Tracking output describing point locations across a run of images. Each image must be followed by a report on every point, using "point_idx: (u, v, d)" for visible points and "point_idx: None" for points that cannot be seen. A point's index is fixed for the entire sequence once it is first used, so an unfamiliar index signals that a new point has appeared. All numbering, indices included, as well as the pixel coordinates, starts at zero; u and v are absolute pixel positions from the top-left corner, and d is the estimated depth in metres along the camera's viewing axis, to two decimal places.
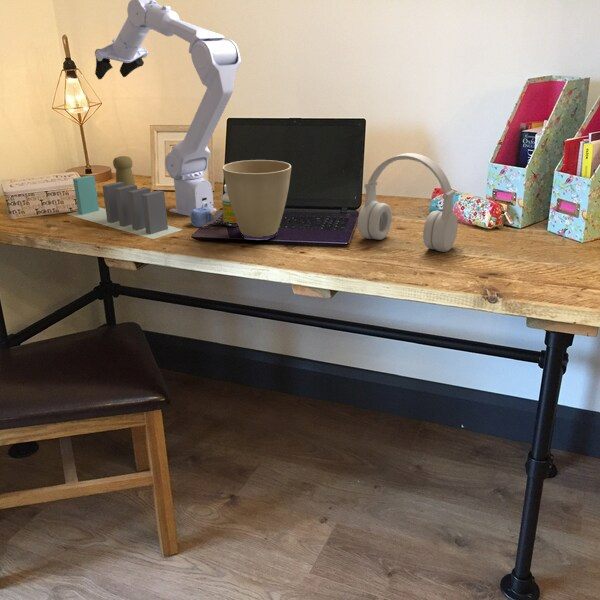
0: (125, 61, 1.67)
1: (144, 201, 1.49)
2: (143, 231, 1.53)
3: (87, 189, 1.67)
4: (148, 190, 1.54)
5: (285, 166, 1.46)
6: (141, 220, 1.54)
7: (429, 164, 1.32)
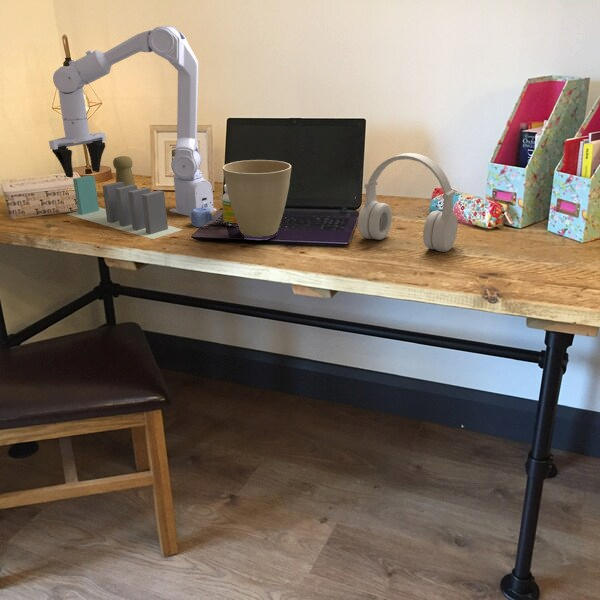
0: (81, 139, 1.60)
1: (144, 201, 1.49)
2: (143, 231, 1.53)
3: (87, 189, 1.67)
4: (148, 190, 1.54)
5: (285, 166, 1.46)
6: (141, 220, 1.54)
7: (429, 164, 1.32)
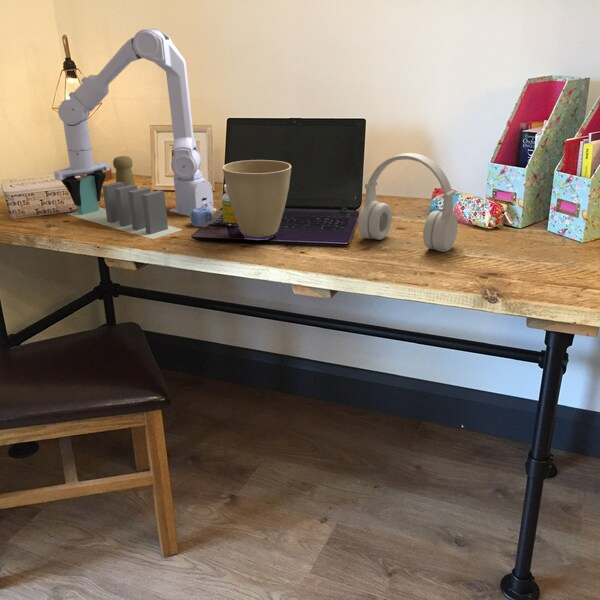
0: (85, 170, 1.63)
1: (144, 201, 1.49)
2: (143, 231, 1.53)
3: (87, 189, 1.67)
4: (148, 190, 1.54)
5: (285, 166, 1.46)
6: (141, 220, 1.54)
7: (429, 164, 1.32)
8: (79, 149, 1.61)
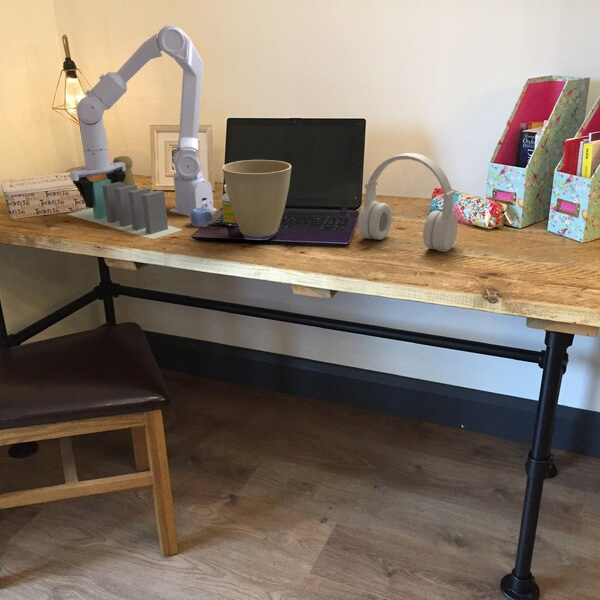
0: (101, 170, 1.59)
1: (144, 201, 1.49)
2: (143, 231, 1.53)
3: None
4: (148, 190, 1.54)
5: (285, 166, 1.46)
6: (141, 220, 1.54)
7: (429, 164, 1.32)
8: (98, 148, 1.57)
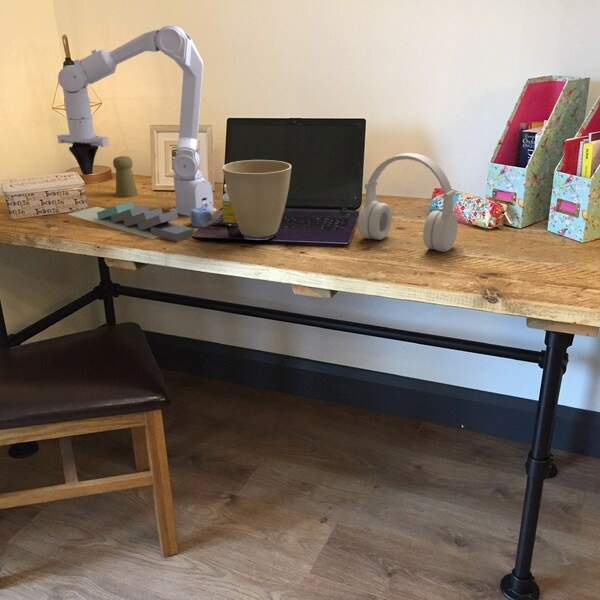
0: (70, 139, 1.59)
1: (172, 236, 1.46)
2: (143, 231, 1.53)
3: None
4: (175, 218, 1.51)
5: (285, 166, 1.46)
6: (149, 227, 1.53)
7: (429, 164, 1.32)
8: (80, 117, 1.57)
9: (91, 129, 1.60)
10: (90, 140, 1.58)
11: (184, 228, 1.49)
